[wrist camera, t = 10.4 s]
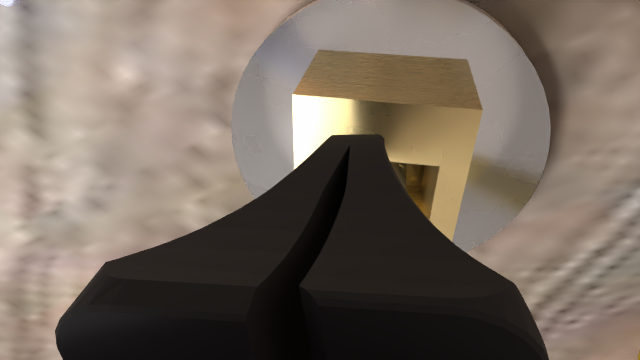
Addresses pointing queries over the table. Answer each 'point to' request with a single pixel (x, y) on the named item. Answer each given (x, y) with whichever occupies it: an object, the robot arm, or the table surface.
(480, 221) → the hub
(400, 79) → the gold open box
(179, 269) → the robot arm
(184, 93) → the table surface
